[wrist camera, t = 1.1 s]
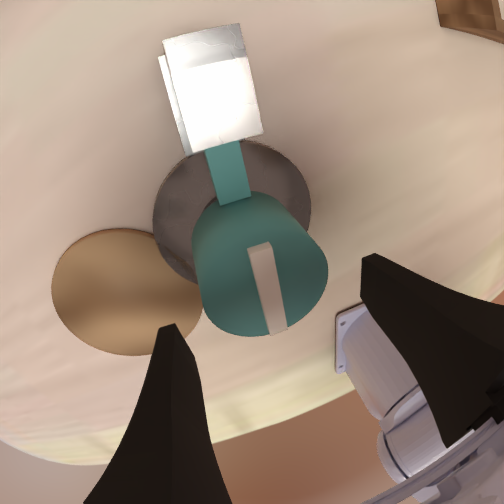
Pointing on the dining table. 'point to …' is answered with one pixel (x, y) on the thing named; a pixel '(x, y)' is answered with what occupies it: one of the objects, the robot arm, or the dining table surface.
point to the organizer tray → (472, 17)
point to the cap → (252, 255)
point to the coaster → (122, 292)
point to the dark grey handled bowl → (215, 138)
